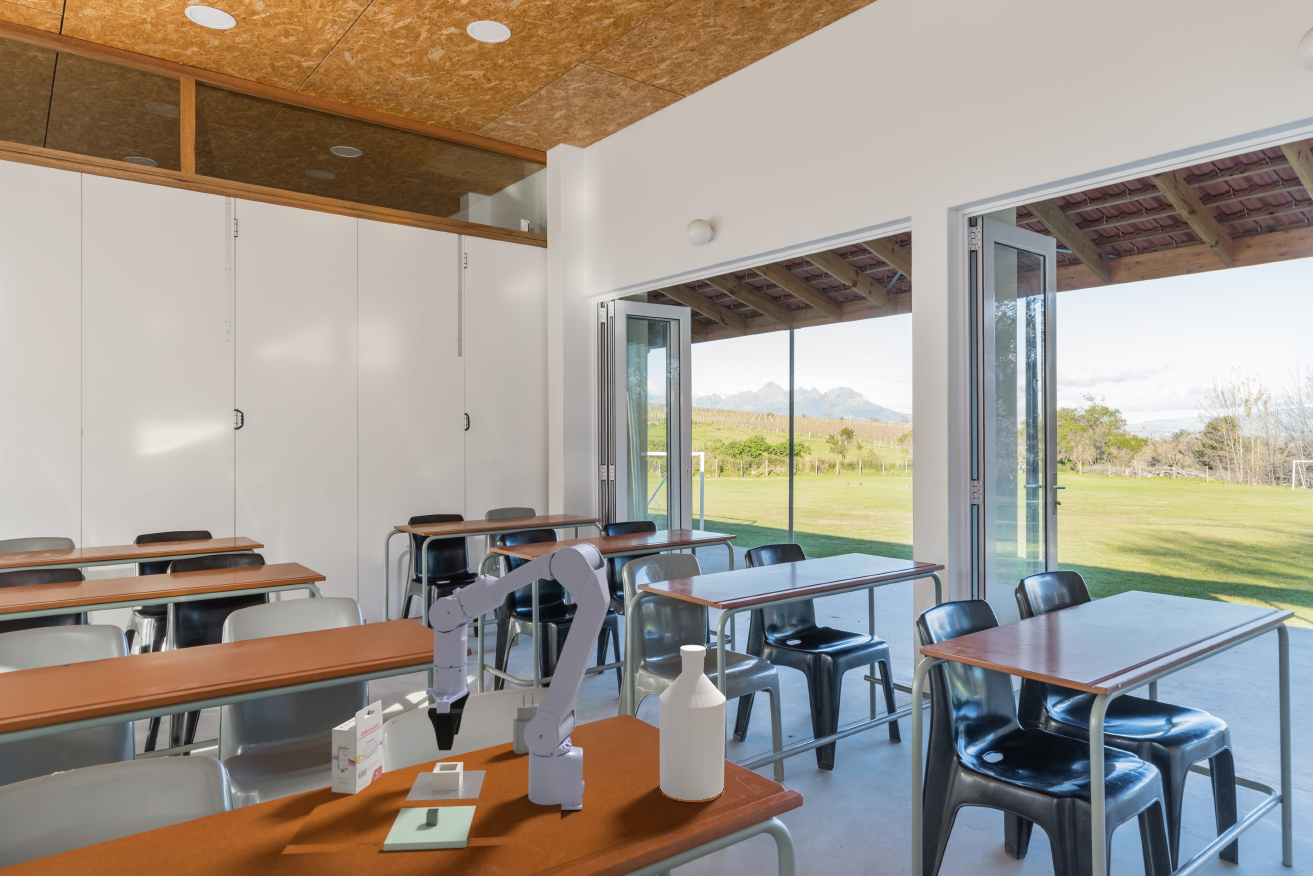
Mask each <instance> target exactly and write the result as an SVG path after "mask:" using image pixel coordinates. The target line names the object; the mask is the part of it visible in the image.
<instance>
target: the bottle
mask: <svg viewBox="0 0 1313 876" xmlns="http://www.w3.org/2000/svg"><path fill="white" fill-rule="evenodd" d="M679 648H680V650H679V651H680V653H679V655H680V656H681V673H680V674H679V675H678V677H677V678H676V679H675V680H673V682H672V683H671V684H670V685H669V686H668V687H667V688H666V689H665V690H664V691H663V692H661V694H659V790H660V789H661V790H662V792H664V793H665V794H667V795H668V796H671V797H673V798H678V799H683V800H703V799H707V798H712V797H715V796H717V795H718V794H720V793H721V792H722V791H723V788H724V789H725V787H724V785H725V784H724V783H725V749H726V747H725V746H726V739H725V738H726V707H727V705H726V704H727V698H726V696H725V695H724V694H723V693H722V692H721V691H720V690H719V689H718V688H717V687H716V686H715V685H714V684H713V682H712V681H711V680H710V678H708V676H707V675H706V674H705V673H704V669H705V665H704V663H705V657H706V656H707V655H706V654H707V651H706V650H707V649H706V647H705V646H703V645H698V644H697V645H696V644H687V645H682V646H680V647H679ZM723 792H724V791H723Z"/></svg>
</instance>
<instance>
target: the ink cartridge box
mask: <svg viewBox="0 0 1313 876" xmlns="http://www.w3.org/2000/svg"><path fill="white" fill-rule="evenodd" d="M382 703H383V702H382V700H381V699H379V700H377V701H376V702H372V703H371V704H370V705H367V706H365V707H364V708H362V709H360V710H358V711H357V712H355V715H354V717H352V718H350V719H349V720H346V721H345V722H343V723H341V724H339V725H337V726H336V727H333V728H332V729H331V793H338V794H349V795H350V794H351V795H356V794H358V793H359V792H361V791H363V790H364V789H366V787H368V786H369V785H371V784H372V783H373V782H375V781H376V780H377V779H379V778H380V777H382V775H383V773H382V772H383V735H384V734H383V733H384V732H383V731H384V730H383V729H384V728H383V727H384V725H383V724H384V723H383V722H384V716H383V705H382ZM368 712H372V714H368Z"/></svg>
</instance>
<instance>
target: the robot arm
mask: <svg viewBox="0 0 1313 876" xmlns="http://www.w3.org/2000/svg"><path fill="white" fill-rule="evenodd" d="M606 572H607V562H606V559H605V558H604V556H603V555H602V553H601V552H600V550H599V549H598V548H597V546H596V545H594V544H592V543H590V542H584V541H583V542H579V543H577V544H575V545H573V546H572V545H571V546H567V547H563V548H560V549H557V550H556V551H553V552H550V553H545V554H542V555H540V556H537V557H535V558H534V559H532V560H530V561H529V562H526V563H524V564H523V565H521V566H519V567H517V568H515V569H514V570H511V571H510V572H508V573H506V574H504V575H503V576H501V577H497V576H496V577H495V576H494V575H487V576H485V575H484V574H481V575H478V576H477V577H475V578H474V581H475V582H473V583H471V584H469V585H467V586H465V587H462V588H460V587H457V588H455V589H454V590H452V595H448V596H445V597H439V598H438V599H437V600H435V601H434V602H433V603H432V605H430V607H429V609H428V610H429V611H428V620H429V623H430V625H431V626H432V627H433V628H434V631H433V634H434V635H433V637H434V638H433V672H432V673H433V677H432V678H433V680H432V681H433V685H432V687H429V688H426V690H425V695H426V696H432V697H433V698H434V700H435V702H436V707H429V708H428V710H427V716H428V719H429V720H430V722H431V724H432V726H433V731H434V733H435V739H436V745H437V749H438V751H439V752H440V751H442V752H443V751H451V750H452V748H453V744H454V740H455V736H457V735H459V732H460V729H461V723H462V719H463V713H464V709H465V706H466V704H467V702H468V701H467V700H468V699H469V697H470V694H471V693H470V691H468V687H467V681H468V680H467V679H468V677H467V676H468V675H467V672H468V626H469V624H470V622H471V621H473V620H475V619H477V618H479V617H481V616H483V615H485V614H487V613H489V612H491V611H493V610H495V609H497V608H500V607H501V606H503V605H504V604H505V601H506V597H507V595H508V594H511V593H513V592H515V591H517V590H518V589H521V588H523V587H525V586H527V585H530V584H531V583H533V582H536V581H538V580H540V579H544V580H547V581H553V580H556V581H557V582H558V584H560V585H561V586H562V587H563V588H564V589H565V590H566V591H567V592H568V593H569V594H571V596H572V598H573V600H574V602H575V604H576V605H577V608H576V611H575V613H574V616H573V620H572V622H571V625H570V627H569V630H568V633H567V637H566V640H565V641H564V644H563V647H562V649H561V653H560V656H559V658H558V661H557V664H556V667H555V669H554V672H553V675H552V678H551V681H550V684H549V687H548V689H547V692H546V693H545V696H544V697H543V699H542V700H541V702H540V703H539V707H538V710H537V712H536V714H535V716H534V717H533V718H532V719H531V720H530V721H529V722H528V723H527V725H526V727H525V730H524V740H525V743H526V745H527V746H528V748H529V753H528V800H529V801H530V802H532V803H533V804H536V805H542V806H553V805H559V804H560V810H561V811H570V810H571V811H572V810H577V811H579V810H582V809H583V794H584V793H585V780H583V778H584V777H583V775H584V774H583V771H584V770H583V769H584V766H583V765H584V760H583V759H584V757H583V756H584V754H583V753H584V752H583V751H584V749H583V747H577V746H573V745H572V741H571V738H570V737H571V736H570V735H571V734H572V733H573V731H574V730H575V728H576V726H577V716H576V712H577V711H576V710H577V707H578V703H579V700H578V694H579V691H580V688H581V686H582V683H583V680H584V678H585V674H586V672H587V669H588V667H589V663H590V661H591V657H592V655H593V652H594V648H595V646H596V644H597V640H598V638H599V635H600V632H601V630H602V627H603V623H604V621H605V618H606V616H607V613H608V610H609V607H610V604H611V595H610V589H609V583H608V578H607V577H608V576H607V573H606Z"/></svg>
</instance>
